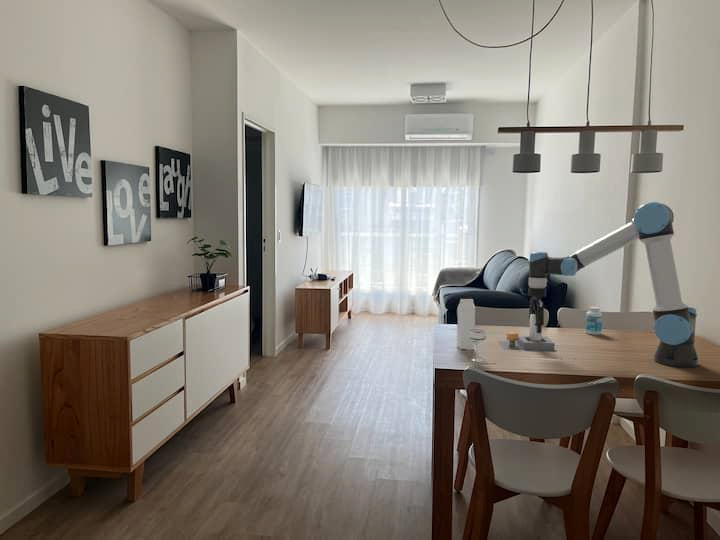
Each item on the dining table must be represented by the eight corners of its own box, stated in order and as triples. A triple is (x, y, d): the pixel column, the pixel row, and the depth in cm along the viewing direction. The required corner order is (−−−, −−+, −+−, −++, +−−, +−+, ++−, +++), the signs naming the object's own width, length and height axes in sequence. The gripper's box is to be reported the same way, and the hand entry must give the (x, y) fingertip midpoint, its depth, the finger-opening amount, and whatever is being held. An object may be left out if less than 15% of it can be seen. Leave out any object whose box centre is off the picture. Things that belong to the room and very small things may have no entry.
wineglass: (482, 357, 213) (483, 329, 212) (487, 362, 206) (488, 332, 205) (466, 357, 212) (467, 329, 211) (470, 362, 206) (471, 332, 205)
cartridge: (542, 347, 227) (543, 316, 226) (530, 347, 228) (531, 315, 226) (539, 344, 232) (540, 314, 231) (527, 344, 232) (529, 313, 231)
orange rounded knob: (519, 341, 228) (519, 334, 227) (508, 340, 228) (508, 334, 228) (516, 338, 233) (516, 332, 232) (505, 338, 233) (505, 331, 233)
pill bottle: (581, 332, 264) (583, 306, 262) (592, 331, 267) (593, 305, 266) (594, 335, 257) (595, 308, 256) (604, 334, 260) (606, 307, 259)
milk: (456, 346, 232) (457, 298, 230) (470, 346, 232) (471, 297, 231) (460, 349, 226) (461, 300, 224) (474, 349, 226) (475, 299, 224)
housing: (556, 353, 221) (556, 344, 221) (504, 351, 223) (504, 342, 223) (545, 344, 237) (546, 335, 237) (497, 343, 239) (497, 334, 239)
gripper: (553, 290, 217) (550, 343, 219) (539, 284, 238) (537, 332, 240) (535, 290, 217) (532, 342, 219) (523, 284, 238) (521, 332, 240)
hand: (535, 337), depth 229 cm, fingers open, 8 cm apart
